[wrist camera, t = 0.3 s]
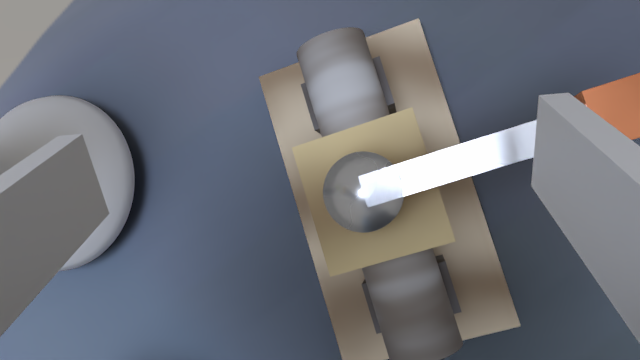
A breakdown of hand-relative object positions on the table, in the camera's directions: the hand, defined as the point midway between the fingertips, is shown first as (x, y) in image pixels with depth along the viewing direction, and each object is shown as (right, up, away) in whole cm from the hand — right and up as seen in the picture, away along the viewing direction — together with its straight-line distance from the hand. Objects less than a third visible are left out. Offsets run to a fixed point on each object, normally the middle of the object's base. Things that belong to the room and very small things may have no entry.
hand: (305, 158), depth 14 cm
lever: (+7, +1, +4) cm, 8 cm away
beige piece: (+4, -1, +15) cm, 16 cm away
